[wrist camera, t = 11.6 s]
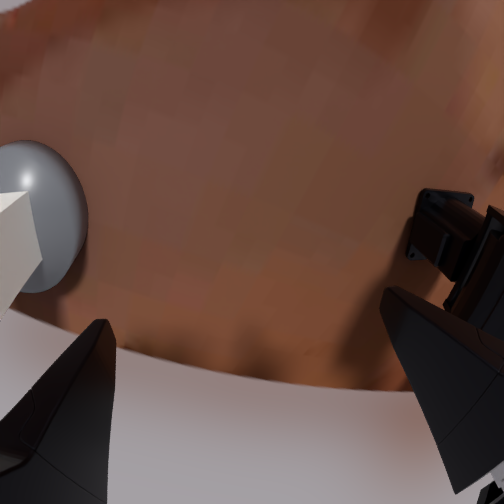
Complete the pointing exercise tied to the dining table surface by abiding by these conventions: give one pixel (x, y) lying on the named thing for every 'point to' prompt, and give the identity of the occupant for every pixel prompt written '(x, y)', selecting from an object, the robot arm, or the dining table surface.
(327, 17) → the dining table surface
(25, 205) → the carton
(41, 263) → the grey dome
